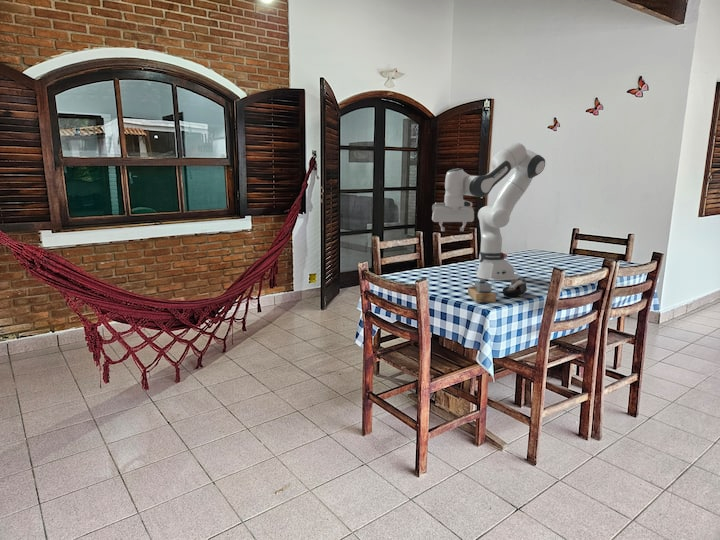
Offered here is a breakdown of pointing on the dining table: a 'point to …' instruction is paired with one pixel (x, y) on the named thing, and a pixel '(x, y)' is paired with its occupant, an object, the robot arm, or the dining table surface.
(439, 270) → the dining table surface
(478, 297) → the stand
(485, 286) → the housing
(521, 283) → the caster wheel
